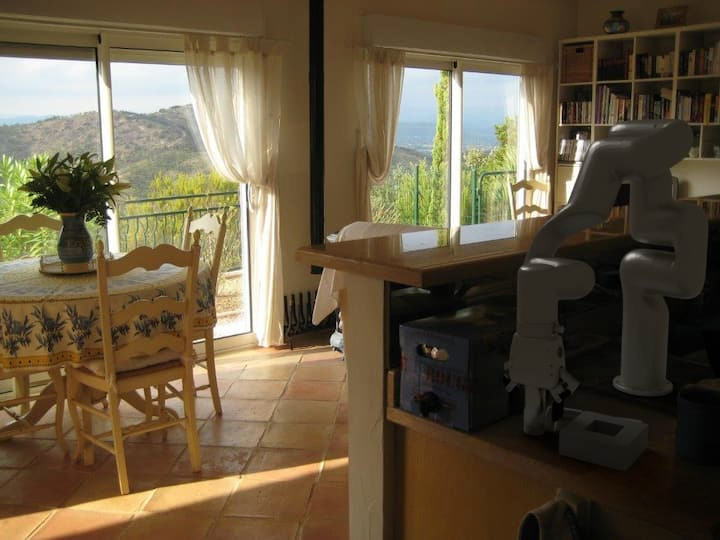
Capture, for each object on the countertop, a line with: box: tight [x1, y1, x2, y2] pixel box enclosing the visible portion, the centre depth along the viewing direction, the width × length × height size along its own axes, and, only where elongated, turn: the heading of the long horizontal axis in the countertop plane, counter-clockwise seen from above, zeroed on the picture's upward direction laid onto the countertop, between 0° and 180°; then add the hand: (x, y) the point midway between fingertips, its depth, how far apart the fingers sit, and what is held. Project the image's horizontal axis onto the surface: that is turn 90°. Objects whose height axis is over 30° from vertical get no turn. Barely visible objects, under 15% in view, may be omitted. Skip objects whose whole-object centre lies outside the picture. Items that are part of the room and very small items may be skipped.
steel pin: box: [523, 385, 547, 436], centre depth 141 cm, size 4×4×10 cm
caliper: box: [545, 400, 646, 433], centre depth 142 cm, size 20×1×6 cm, turn 92°
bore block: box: [558, 410, 650, 473], centre depth 132 cm, size 12×12×4 cm
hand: (535, 414), depth 141 cm, fingers open, 8 cm apart
